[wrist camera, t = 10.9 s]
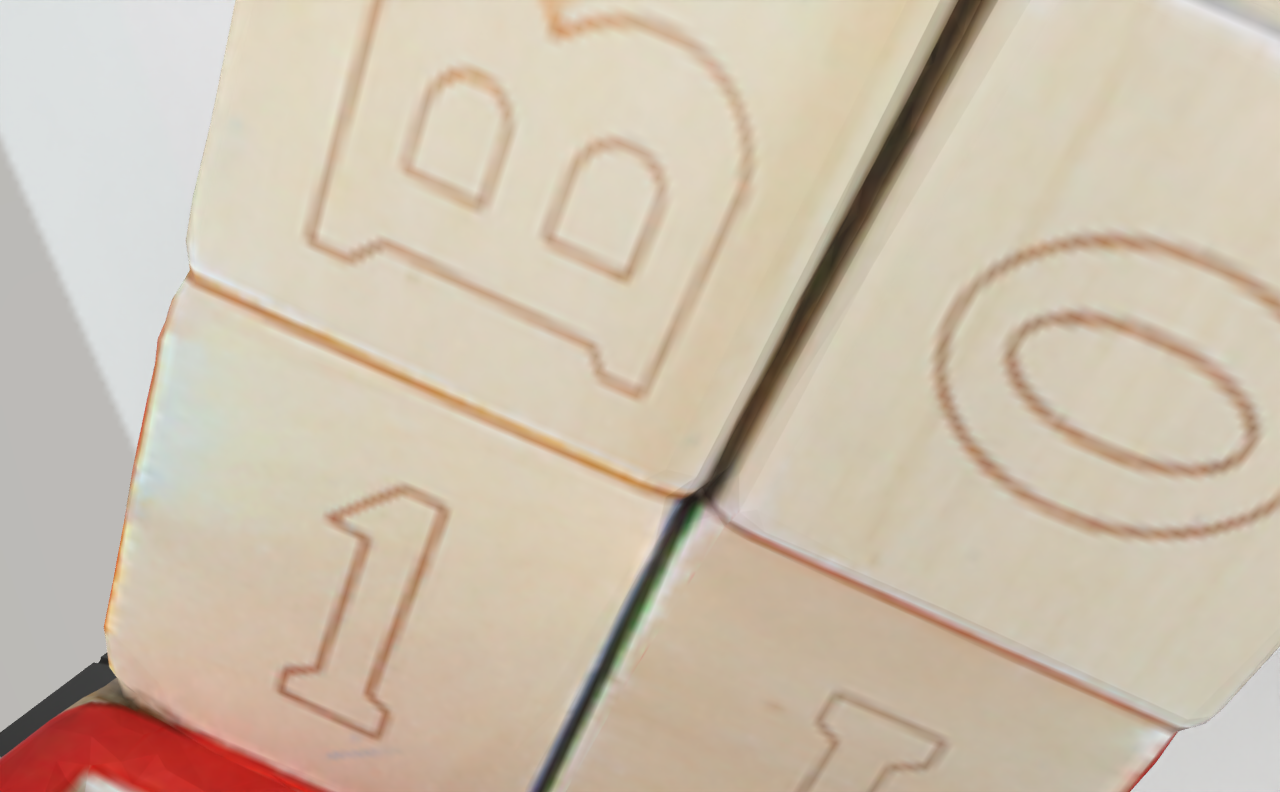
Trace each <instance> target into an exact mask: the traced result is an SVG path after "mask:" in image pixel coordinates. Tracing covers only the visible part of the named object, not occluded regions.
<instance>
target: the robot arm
mask: <svg viewBox="0 0 1280 792" xmlns="http://www.w3.org/2000/svg"><path fill="white" fill-rule="evenodd" d="M115 678H116V676H115V674H114V673H113V672H112V670H111V669H110V667H109V661H108V653H106V654H104V655H103V656H102V657H101V660H100V662H99V663H92V664H91V665H90V666H88V667H87V668H86V669H84V670H83V671H82V672H80V673H79V674H78V675H76V676H75V677H74V678H72V679H71V680H70V681H69V682H67V683H66V684H64V685H63V686H62V687H60V688H59V689H58V690H56V691H55V692H54V693H52V694H51V695H50V696H48V697H47V698H46V699H44V700H43V701H42V702H40V703H39V704H38V705H36V706H35V707H34V708H32V709H31V710H30V711H28V712H27V713H26V714H25V715H23V716H22V717H20V718H19V719H18V720H16V721H15V722H14V723H12V724H11V725H10V726H8V727H7V728H6V729H4V730H3V731H2V732H0V758H1V757H3V756H4V755H5V754H7V753H8V752H9V751H11V750H12V749H13V748H15V747H16V746H17V745H18V744H20V743H21V742H22V741H24V740H25V739H26V738H28V737H29V736H30V735H31V734H33V733H34V732H35V731H37V730H38V729H39V728H41V727H42V726H43V725H44V724H46V723H47V722H48V721H50V720H51V719H53V718H54V717H56V716H57V715H58V714H60V713H61V712H63V711H64V710H66V709H67V708H69V707H70V706H72V705H73V704H75V703H76V702H78V701H79V700H80V699H82V698H84V697H86V696H87V695H89V694H91V693H93V692H95V691H97V690H99V689H101V688H103V687H104V686H106V685H107V684H109V683H110V682H111V681H112V680H114V679H115Z"/></svg>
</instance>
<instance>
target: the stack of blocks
mask: <svg viewBox="0 0 1280 792" xmlns="http://www.w3.org/2000/svg"><path fill="white" fill-rule="evenodd" d="M186 245H187V252H188V259H189V266H190V271H189V273H188V274H187V276H186V278H185V279H184V281H183V283H182V284H181V286H180V288H179V289H178V291H177V293H176V294H175V296H174V298H173V299H172V301H171V305H170V308H169V311H168V314H167V318H166V321H165V324H164V326H163V328H162V330H161V333H160V335H159V337H158V342H157V351H156V361H155V367H154V371H153V376H152V380H151V385H150V389H149V394H148V398H147V403H146V408H145V412H144V417H143V422H142V427H141V432H140V436H139V441H138V446H137V451H136V456H135V460H134V465H133V471H132V477H131V483H130V489H129V495H128V501H127V508H126V513H125V519H124V525H123V531H122V536H121V541H120V547H119V552H118V557H117V563H116V568H115V574H114V580H113V584H112V590H111V594H110V599H109V604H108V609H107V614H106V619H105V624H104V631H105V638H106V646H107V653H108V661H109V667H110V669H111V670H112V672H113V673H114V674H115V676H116V678H115V679H114V680H112V681H111V682H110V683H109V684H107V685H106V686H104V687H103V688H101V689H99V690H97V691H95V692H93V693H91V694H89V695H87V696H86V697H84V698H82V699H80V700H79V701H78V702H76V703H75V704H73V705H72V706H70V707H69V708H67V709H66V710H64V711H63V712H61V713H60V714H58V715H57V716H56V717H54V718H53V719H51V720H50V721H48V722H47V723H46V724H44V725H43V726H42V727H41V728H39V729H38V730H37V731H35V732H34V733H33V734H31V735H30V736H29V737H28V738H26V739H25V740H24V741H22V742H21V743H20V744H18V745H17V746H16V747H15V748H13V749H12V750H11V751H9V752H8V753H7V754H5V755H4V756H3V757H1V758H0V792H1130V791H1131V790H1132V789H1133V788H1134V786H1135V785H1136V784H1137V783H1138V782H1139V781H1140V780H1141V779H1142V777H1143V776H1144V775H1145V774H1146V773H1147V772H1148V771H1149V770H1150V769H1151V767H1152V766H1153V765H1154V764H1155V763H1156V762H1157V760H1158V759H1159V757H1160V756H1161V755H1162V753H1163V752H1164V750H1165V749H1166V747H1167V746H1168V745H1169V743H1170V742H1171V740H1172V739H1173V738H1174V736H1175V735H1176V733H1177V732H1178V731H1180V730H1184V729H1187V728H1191V727H1195V726H1198V725H1202V724H1205V723H1206V722H1207V721H1209V720H1210V719H1211V718H1212V717H1213V716H1215V715H1216V714H1217V713H1218V712H1220V711H1221V710H1222V709H1223V708H1224V706H1225V705H1226V704H1227V703H1228V702H1229V701H1230V700H1231V699H1232V698H1233V697H1234V696H1235V694H1236V693H1237V692H1238V691H1239V690H1240V689H1241V688H1242V687H1243V686H1244V685H1245V684H1246V682H1247V681H1248V680H1249V679H1250V678H1251V677H1252V676H1253V675H1254V674H1255V673H1256V672H1257V670H1258V669H1259V668H1260V667H1261V666H1262V665H1263V664H1264V663H1265V662H1266V661H1267V660H1268V658H1269V657H1270V656H1271V655H1272V654H1273V653H1274V652H1275V651H1276V650H1277V649H1278V648H1279V646H1280V0H236V1H235V6H234V11H233V16H232V21H231V26H230V31H229V36H228V41H227V45H226V50H225V55H224V60H223V65H222V70H221V75H220V80H219V85H218V90H217V94H216V99H215V104H214V109H213V114H212V119H211V124H210V128H209V132H208V136H207V140H206V145H205V149H204V153H203V157H202V161H201V165H200V170H199V174H198V178H197V182H196V186H195V191H194V195H193V200H192V206H191V212H190V218H189V224H188V231H187V237H186Z"/></svg>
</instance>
